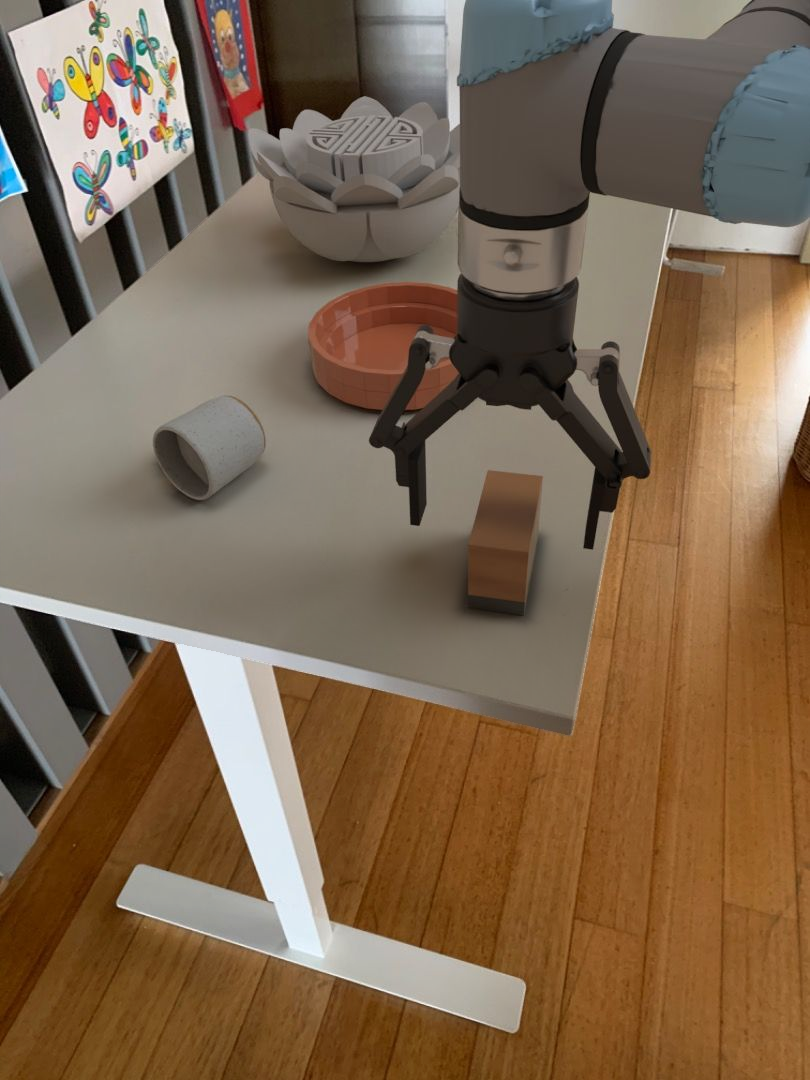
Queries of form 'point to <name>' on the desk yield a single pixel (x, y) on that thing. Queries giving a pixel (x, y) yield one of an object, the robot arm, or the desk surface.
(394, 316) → the terracotta bowl
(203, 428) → the ceramic mug
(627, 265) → the desk surface
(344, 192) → the decorative bowl
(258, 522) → the desk surface
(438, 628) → the desk surface
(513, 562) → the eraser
